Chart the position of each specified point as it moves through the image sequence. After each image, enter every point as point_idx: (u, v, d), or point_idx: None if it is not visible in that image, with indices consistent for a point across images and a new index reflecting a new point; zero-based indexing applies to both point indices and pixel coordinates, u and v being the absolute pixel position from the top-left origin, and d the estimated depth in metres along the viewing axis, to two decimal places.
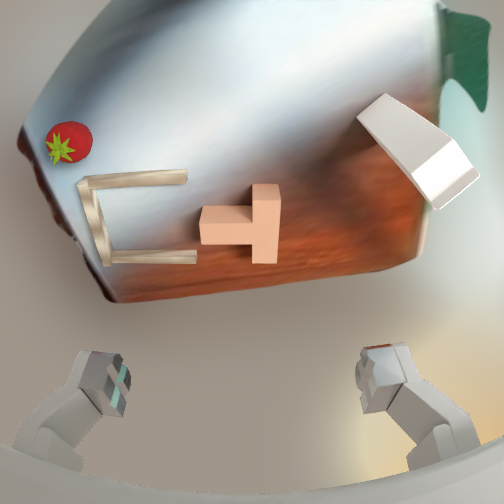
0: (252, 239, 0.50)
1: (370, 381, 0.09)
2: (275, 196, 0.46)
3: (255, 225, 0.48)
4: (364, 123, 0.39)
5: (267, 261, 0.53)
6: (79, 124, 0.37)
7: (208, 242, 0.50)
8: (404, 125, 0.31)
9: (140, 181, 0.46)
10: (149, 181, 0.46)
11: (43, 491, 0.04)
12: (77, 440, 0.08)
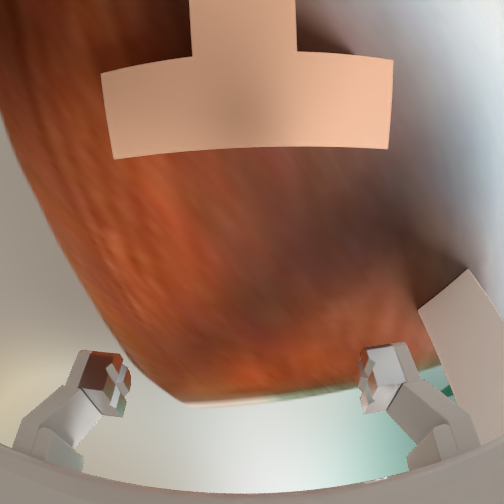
0: (217, 54, 0.10)
1: (370, 381, 0.09)
2: None
3: (286, 60, 0.11)
4: (488, 297, 0.19)
5: (116, 126, 0.12)
6: None
7: None
8: None
9: None
10: None
11: (43, 491, 0.04)
12: (77, 440, 0.08)
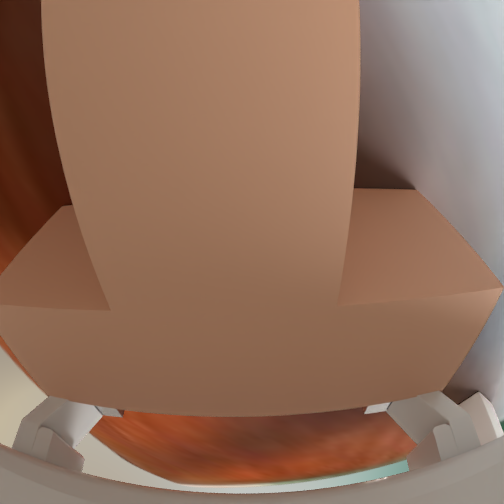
0: (159, 311, 0.05)
1: None
2: None
3: (312, 323, 0.05)
4: (494, 427, 0.15)
5: (34, 370, 0.07)
6: None
7: None
8: None
9: None
10: None
11: (43, 491, 0.04)
12: (77, 440, 0.08)
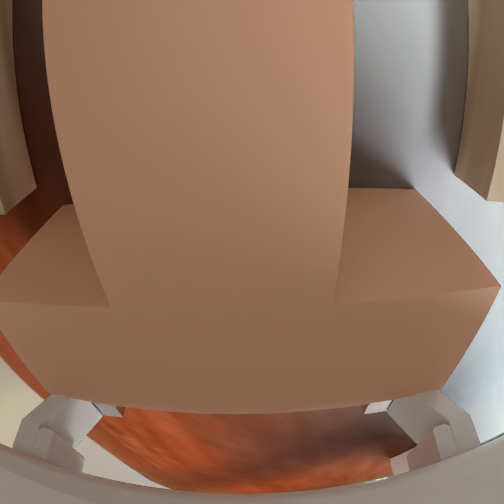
0: (158, 308, 0.05)
1: None
2: None
3: (308, 320, 0.06)
4: None
5: (34, 367, 0.07)
6: None
7: None
8: None
9: None
10: None
11: (43, 491, 0.04)
12: (77, 440, 0.08)
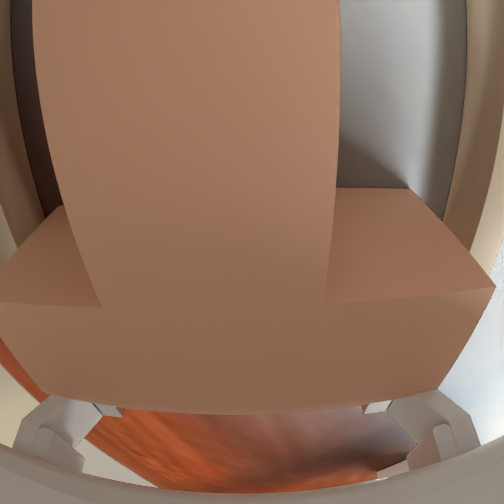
0: (148, 308, 0.05)
1: None
2: None
3: (298, 320, 0.06)
4: None
5: (29, 367, 0.07)
6: None
7: None
8: None
9: None
10: (503, 189, 0.07)
11: (43, 491, 0.04)
12: (77, 440, 0.08)
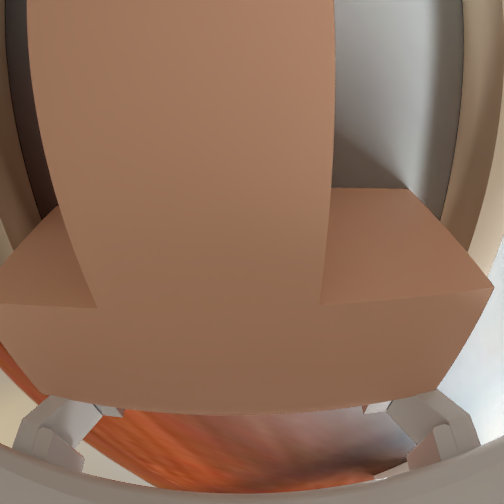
0: (144, 309, 0.05)
1: None
2: None
3: (294, 322, 0.06)
4: None
5: (27, 367, 0.07)
6: None
7: None
8: None
9: (501, 196, 0.07)
10: (487, 237, 0.08)
11: (43, 491, 0.04)
12: (77, 440, 0.08)
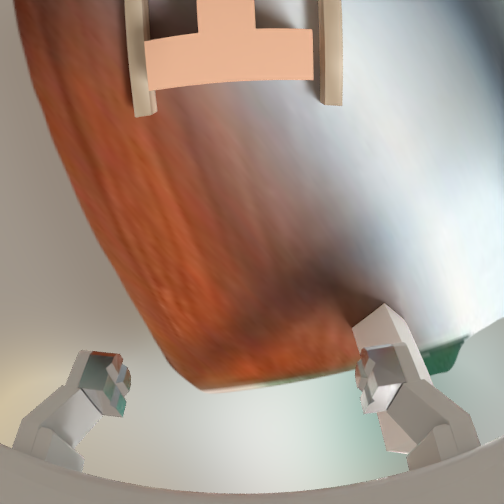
0: (211, 31, 0.18)
1: (370, 381, 0.09)
2: None
3: (250, 33, 0.18)
4: (394, 322, 0.37)
5: (152, 71, 0.19)
6: None
7: None
8: (424, 375, 0.32)
9: (333, 25, 0.20)
10: (333, 42, 0.21)
11: (43, 491, 0.04)
12: (77, 440, 0.08)
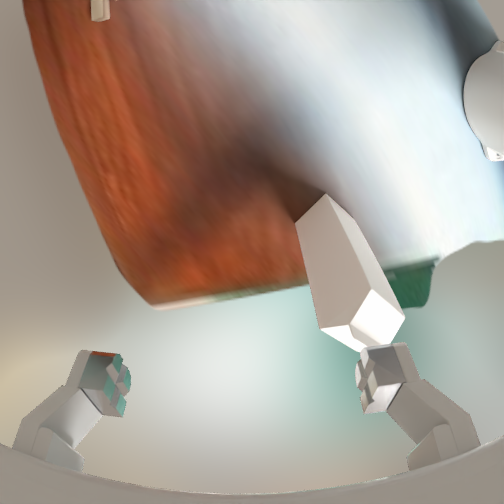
0: None
1: (370, 381, 0.09)
2: None
3: None
4: (333, 206, 0.37)
5: None
6: None
7: None
8: (368, 256, 0.32)
9: None
10: None
11: (43, 491, 0.04)
12: (77, 440, 0.08)
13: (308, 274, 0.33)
